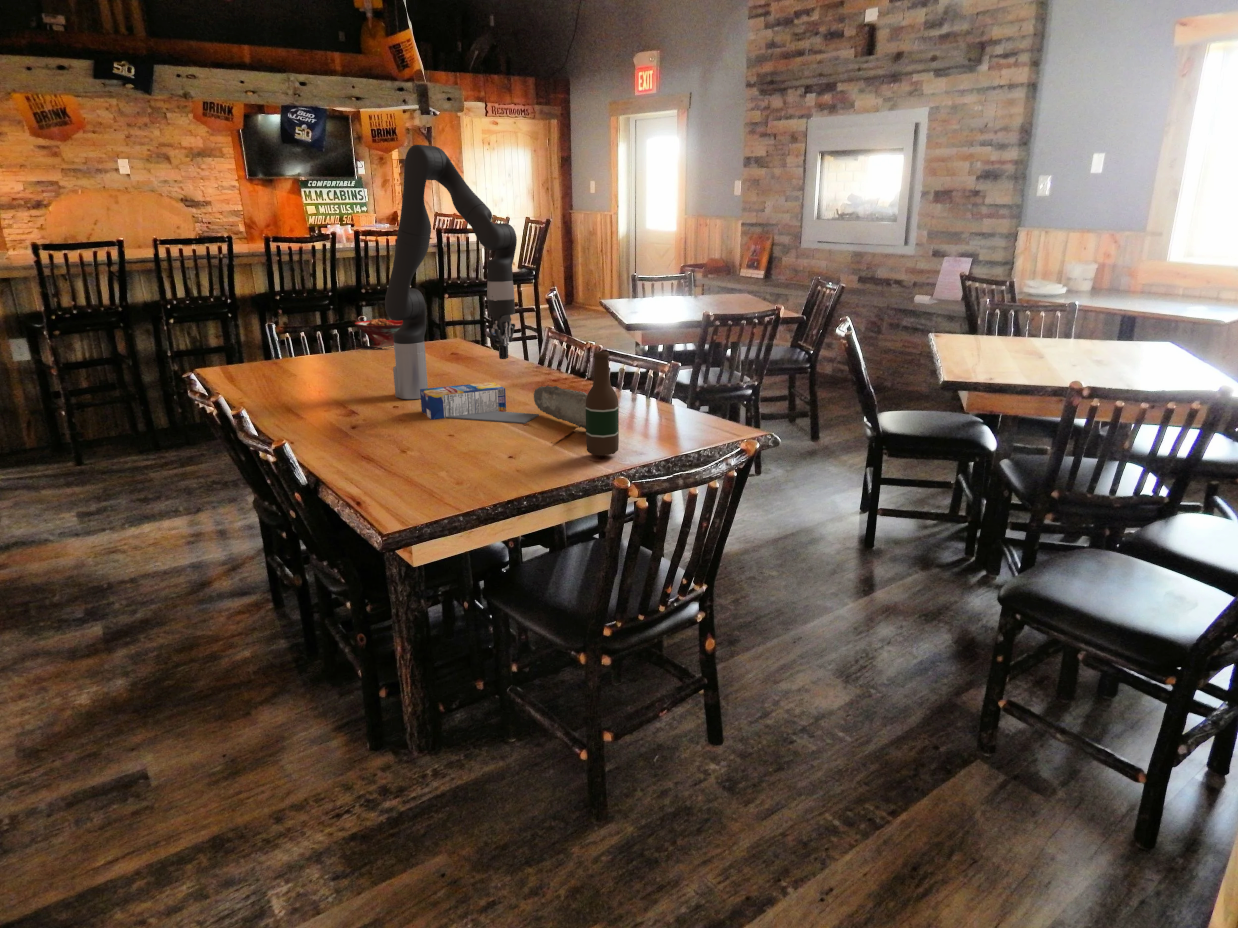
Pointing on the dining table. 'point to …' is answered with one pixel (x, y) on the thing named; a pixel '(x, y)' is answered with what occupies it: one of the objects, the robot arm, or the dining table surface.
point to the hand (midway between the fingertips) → (503, 358)
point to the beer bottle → (602, 410)
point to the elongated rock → (562, 404)
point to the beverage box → (462, 400)
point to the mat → (498, 417)
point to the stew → (379, 332)
